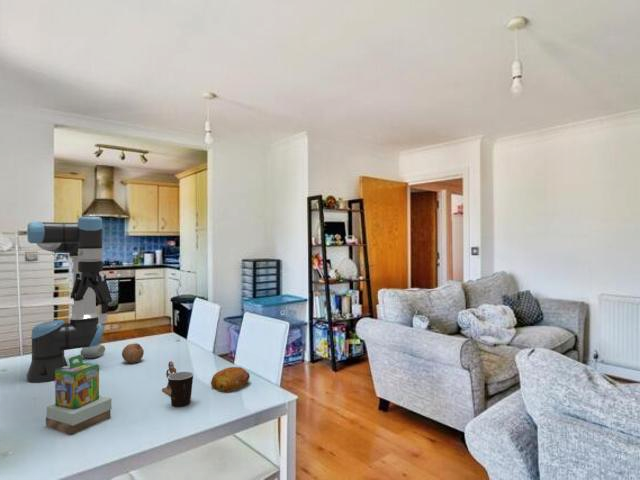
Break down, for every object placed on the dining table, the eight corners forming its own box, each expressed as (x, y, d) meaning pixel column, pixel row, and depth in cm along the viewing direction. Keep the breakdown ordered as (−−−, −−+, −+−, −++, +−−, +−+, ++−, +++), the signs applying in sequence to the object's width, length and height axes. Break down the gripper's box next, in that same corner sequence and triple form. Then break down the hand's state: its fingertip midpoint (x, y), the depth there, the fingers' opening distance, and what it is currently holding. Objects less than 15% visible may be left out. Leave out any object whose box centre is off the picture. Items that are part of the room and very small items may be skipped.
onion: (141, 367, 193) (150, 349, 193) (123, 367, 186) (133, 348, 186) (132, 357, 199) (141, 339, 199) (114, 356, 191) (124, 337, 191)
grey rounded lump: (95, 360, 196) (94, 339, 196) (78, 360, 196) (78, 339, 196) (107, 353, 207) (107, 334, 207) (91, 353, 207) (91, 334, 207)
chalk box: (75, 409, 124) (74, 362, 124) (53, 405, 127) (53, 359, 127) (100, 398, 133) (100, 353, 133) (80, 395, 136) (79, 351, 136)
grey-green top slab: (46, 417, 127) (46, 406, 126) (86, 402, 138) (85, 392, 138) (72, 425, 121) (72, 414, 121) (111, 409, 133) (111, 398, 133)
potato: (255, 387, 164) (257, 367, 165) (231, 395, 151) (233, 373, 152) (227, 381, 171) (229, 362, 172) (201, 388, 157) (204, 367, 158)
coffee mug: (172, 399, 147) (171, 372, 147) (196, 398, 148) (195, 371, 148) (162, 412, 136) (162, 383, 136) (188, 411, 136) (188, 382, 136)
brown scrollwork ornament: (161, 390, 156) (161, 360, 155) (171, 388, 158) (171, 358, 158) (171, 397, 149) (170, 365, 149) (181, 394, 152) (181, 362, 152)
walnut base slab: (46, 428, 127) (46, 417, 127) (86, 412, 138) (86, 402, 138) (70, 437, 121) (70, 426, 121) (110, 420, 132) (110, 409, 132)
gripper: (59, 259, 144) (59, 318, 144) (102, 262, 132) (102, 327, 132) (80, 258, 150) (80, 315, 151) (123, 261, 138) (123, 322, 139)
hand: (90, 320), depth 141 cm, fingers open, 13 cm apart
